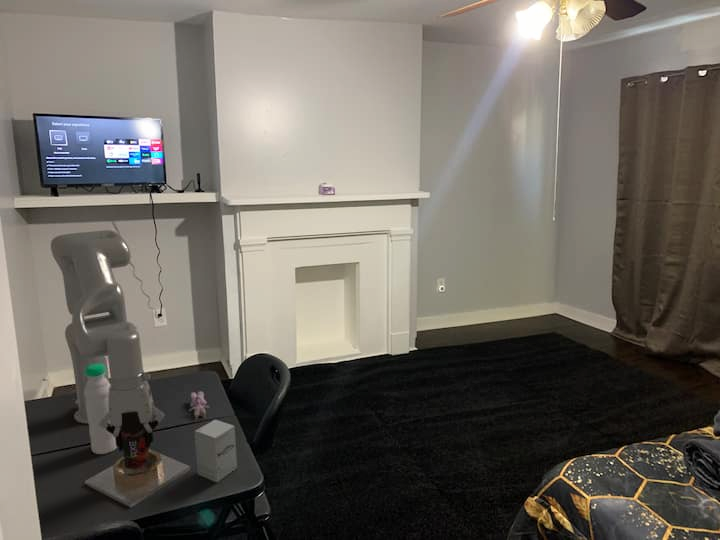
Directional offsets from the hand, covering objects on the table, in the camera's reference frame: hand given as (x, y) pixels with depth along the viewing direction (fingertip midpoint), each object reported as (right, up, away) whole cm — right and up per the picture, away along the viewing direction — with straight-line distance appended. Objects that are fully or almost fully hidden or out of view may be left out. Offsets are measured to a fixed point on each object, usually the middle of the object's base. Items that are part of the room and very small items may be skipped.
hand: (135, 445), depth 139 cm
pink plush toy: (+5, -1, +38) cm, 38 cm away
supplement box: (+20, -8, +4) cm, 22 cm away
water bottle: (-15, -6, +16) cm, 22 cm away
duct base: (0, -9, +2) cm, 9 cm away
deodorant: (0, -5, +1) cm, 5 cm away
